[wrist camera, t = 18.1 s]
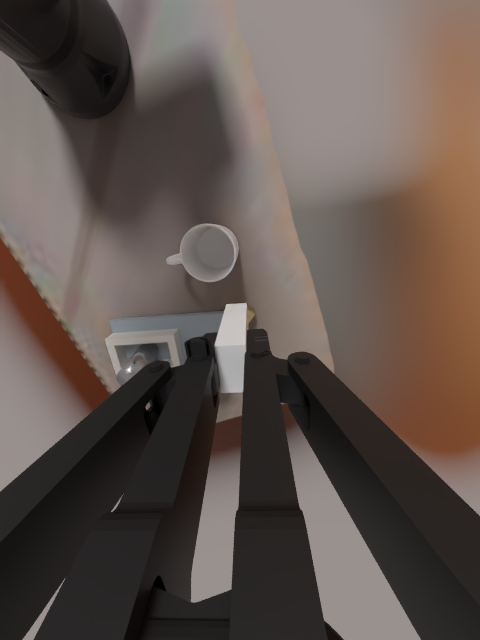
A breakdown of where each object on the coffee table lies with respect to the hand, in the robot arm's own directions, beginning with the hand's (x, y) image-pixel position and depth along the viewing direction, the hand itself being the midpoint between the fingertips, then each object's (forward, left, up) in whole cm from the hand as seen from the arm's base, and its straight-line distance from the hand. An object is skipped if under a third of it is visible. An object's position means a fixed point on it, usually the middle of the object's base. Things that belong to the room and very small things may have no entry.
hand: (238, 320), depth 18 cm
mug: (-3, -7, -29) cm, 30 cm away
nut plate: (+17, -17, -29) cm, 38 cm away
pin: (+16, -22, -28) cm, 39 cm away
